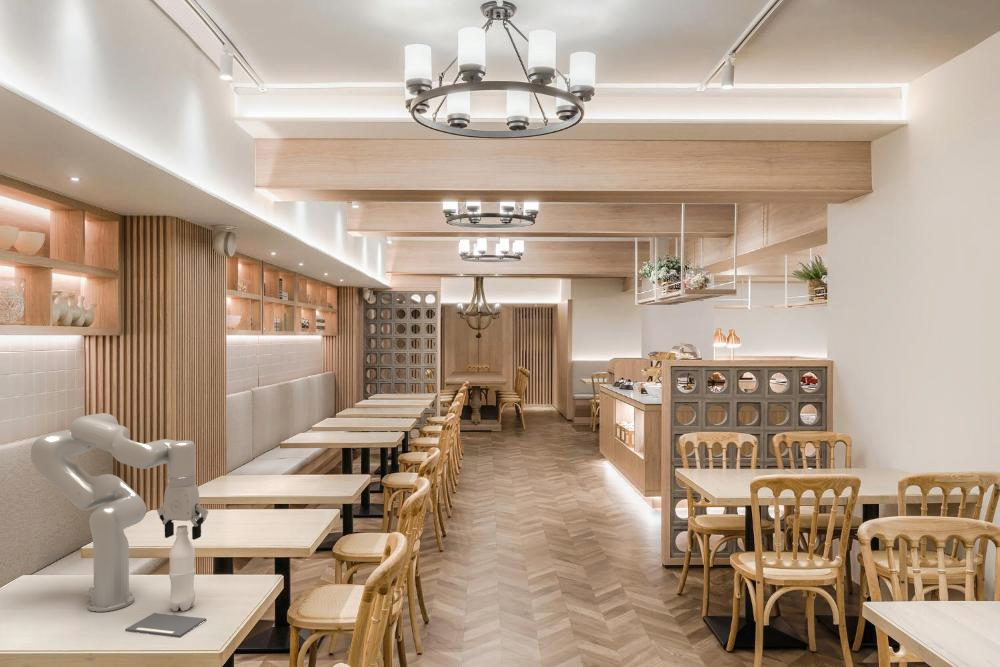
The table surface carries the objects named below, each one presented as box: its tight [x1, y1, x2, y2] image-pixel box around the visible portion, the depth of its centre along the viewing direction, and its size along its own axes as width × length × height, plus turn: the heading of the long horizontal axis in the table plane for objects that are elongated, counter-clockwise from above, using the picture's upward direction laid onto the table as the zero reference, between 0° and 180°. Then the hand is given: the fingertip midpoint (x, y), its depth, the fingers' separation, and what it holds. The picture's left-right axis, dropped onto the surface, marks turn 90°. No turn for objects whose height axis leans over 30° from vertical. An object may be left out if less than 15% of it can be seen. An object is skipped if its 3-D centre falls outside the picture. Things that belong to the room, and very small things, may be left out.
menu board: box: [124, 612, 207, 638], centre depth 189 cm, size 18×11×1 cm, turn 77°
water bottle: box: [168, 524, 196, 612], centre depth 201 cm, size 7×7×25 cm
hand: (182, 537), depth 201 cm, fingers open, 9 cm apart
